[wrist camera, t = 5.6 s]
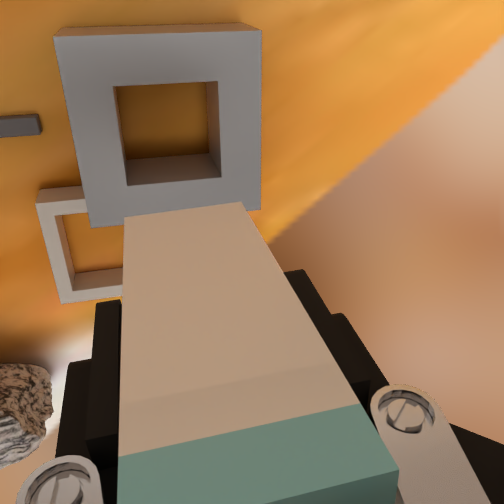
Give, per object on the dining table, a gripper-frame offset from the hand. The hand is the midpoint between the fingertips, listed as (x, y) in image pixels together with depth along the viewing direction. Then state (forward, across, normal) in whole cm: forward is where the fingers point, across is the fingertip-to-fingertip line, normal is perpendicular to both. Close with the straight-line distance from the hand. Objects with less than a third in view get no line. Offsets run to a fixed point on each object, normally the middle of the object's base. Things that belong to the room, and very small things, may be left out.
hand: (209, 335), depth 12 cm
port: (+18, 0, -1) cm, 18 cm away
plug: (+4, 0, 0) cm, 4 cm away
